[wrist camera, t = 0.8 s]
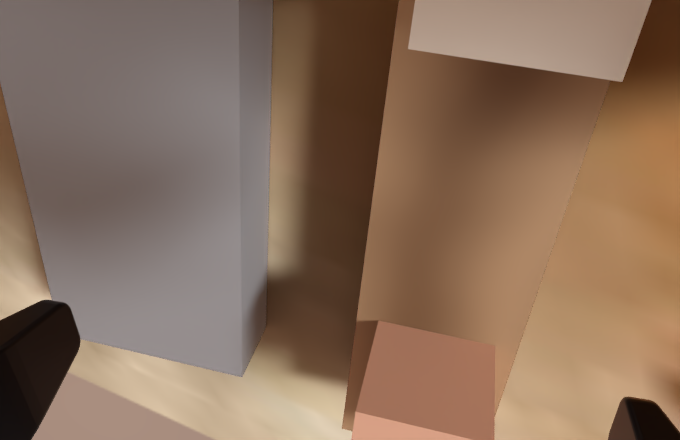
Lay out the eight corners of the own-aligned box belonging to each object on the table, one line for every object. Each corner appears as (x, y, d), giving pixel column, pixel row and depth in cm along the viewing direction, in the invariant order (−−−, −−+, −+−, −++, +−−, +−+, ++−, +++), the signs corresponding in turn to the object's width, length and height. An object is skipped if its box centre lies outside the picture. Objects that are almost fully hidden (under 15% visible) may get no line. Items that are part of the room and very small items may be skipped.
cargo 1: (495, 345, 20) (494, 444, 17) (471, 422, 23) (466, 522, 19) (378, 320, 21) (355, 411, 18) (365, 397, 23) (343, 491, 20)
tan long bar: (695, -285, 14) (747, -315, 11) (481, 393, 27) (479, 461, 24) (454, -302, 15) (443, -335, 12) (358, 365, 27) (341, 428, 24)
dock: (278, -242, 16) (236, -254, 13) (266, 326, 27) (242, 377, 24) (0, -266, 17) (-87, -283, 14) (99, 289, 28) (60, 334, 25)
